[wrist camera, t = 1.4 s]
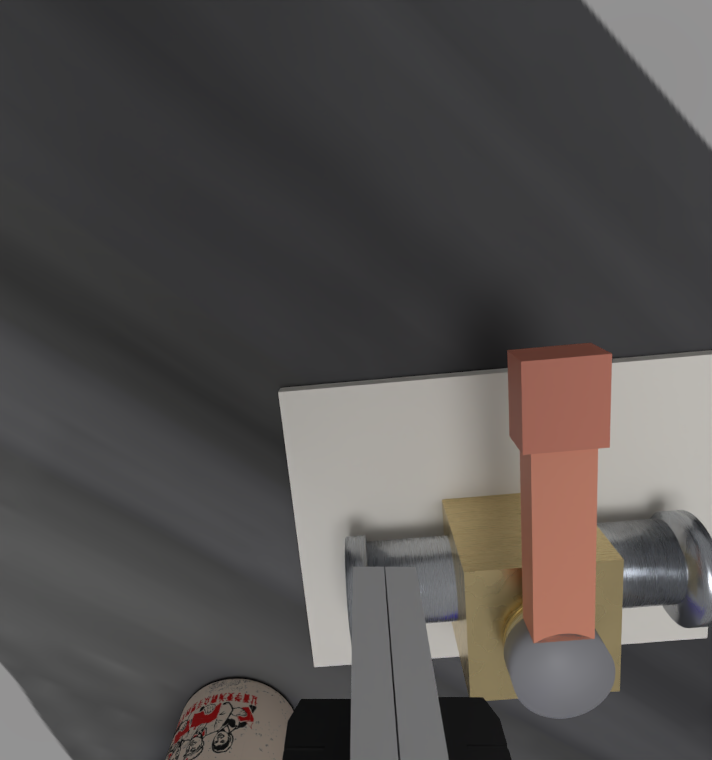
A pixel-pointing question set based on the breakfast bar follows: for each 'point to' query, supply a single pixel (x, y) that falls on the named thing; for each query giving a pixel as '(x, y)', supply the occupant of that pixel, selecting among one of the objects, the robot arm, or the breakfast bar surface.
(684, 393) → the mounting board
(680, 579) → the valve body
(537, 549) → the lever
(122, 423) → the breakfast bar surface
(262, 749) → the teacup with lid
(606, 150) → the breakfast bar surface
